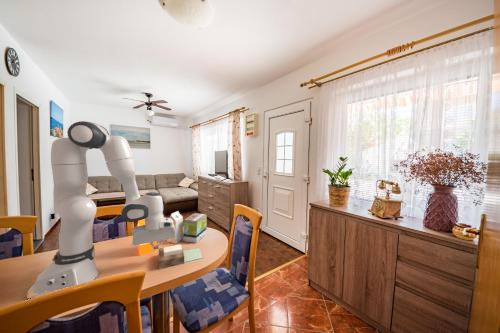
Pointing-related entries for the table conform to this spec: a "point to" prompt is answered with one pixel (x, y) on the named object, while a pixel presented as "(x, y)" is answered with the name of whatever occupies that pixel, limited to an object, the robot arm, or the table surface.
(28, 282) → the table surface
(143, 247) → the orange juice
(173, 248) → the beige flat block
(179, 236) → the milk carton
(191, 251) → the mat
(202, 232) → the tea box
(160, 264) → the block
